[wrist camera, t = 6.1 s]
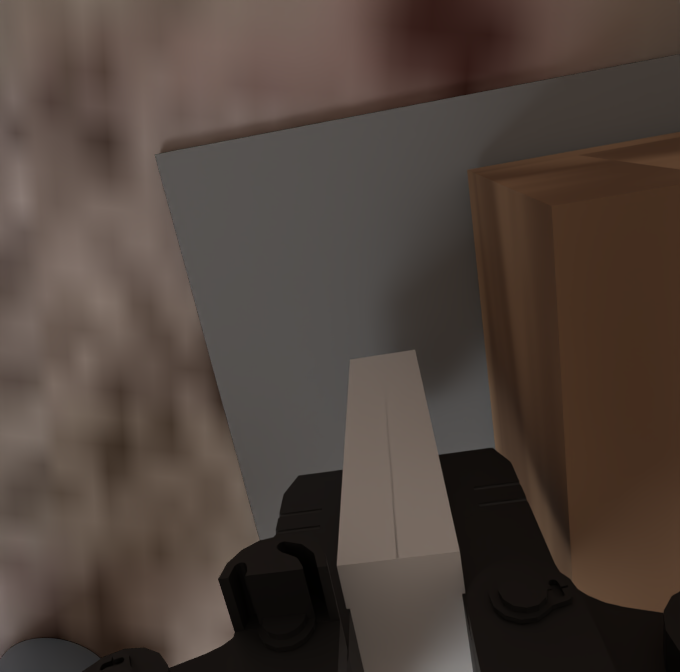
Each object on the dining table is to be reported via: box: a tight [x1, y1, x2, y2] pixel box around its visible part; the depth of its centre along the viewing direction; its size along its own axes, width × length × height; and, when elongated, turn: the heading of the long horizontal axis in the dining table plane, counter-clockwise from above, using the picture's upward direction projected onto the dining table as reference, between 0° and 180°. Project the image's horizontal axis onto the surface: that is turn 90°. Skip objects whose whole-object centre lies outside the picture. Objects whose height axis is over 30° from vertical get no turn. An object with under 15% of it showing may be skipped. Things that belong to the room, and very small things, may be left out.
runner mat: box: [155, 54, 680, 540], centre depth 14 cm, size 20×13×1 cm, turn 100°
